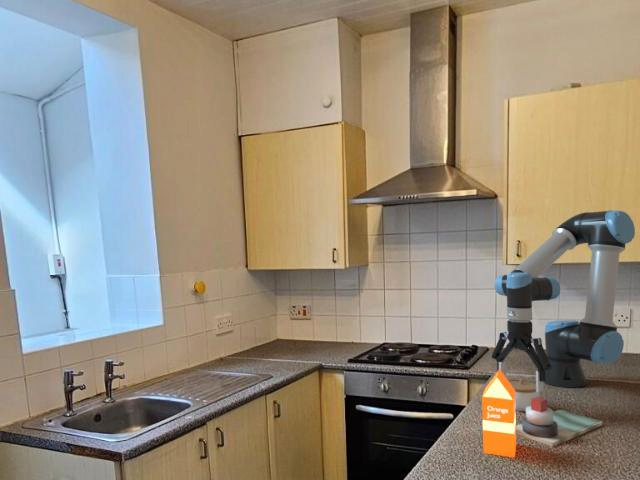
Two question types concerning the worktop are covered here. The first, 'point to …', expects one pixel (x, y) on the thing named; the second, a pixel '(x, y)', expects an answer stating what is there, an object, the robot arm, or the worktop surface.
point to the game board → (558, 428)
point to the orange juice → (499, 417)
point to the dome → (539, 412)
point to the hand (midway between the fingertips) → (520, 386)
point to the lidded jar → (523, 393)
